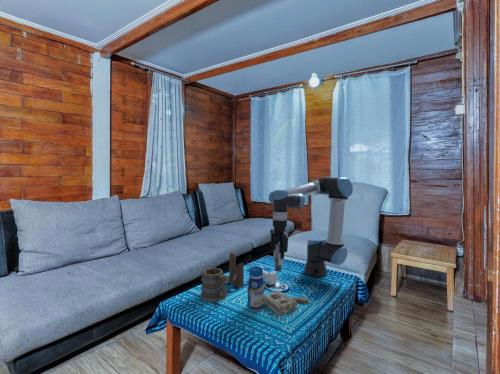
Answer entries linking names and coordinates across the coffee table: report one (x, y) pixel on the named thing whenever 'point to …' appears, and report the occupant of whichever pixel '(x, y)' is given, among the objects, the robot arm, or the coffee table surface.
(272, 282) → the bone shaped toy
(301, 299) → the walnut slat
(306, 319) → the coffee table surface
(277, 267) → the peg
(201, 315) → the coffee table surface
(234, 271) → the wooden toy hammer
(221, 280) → the tankard
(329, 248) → the robot arm
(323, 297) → the coffee table surface
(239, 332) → the coffee table surface
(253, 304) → the beverage bottle
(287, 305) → the socket block
